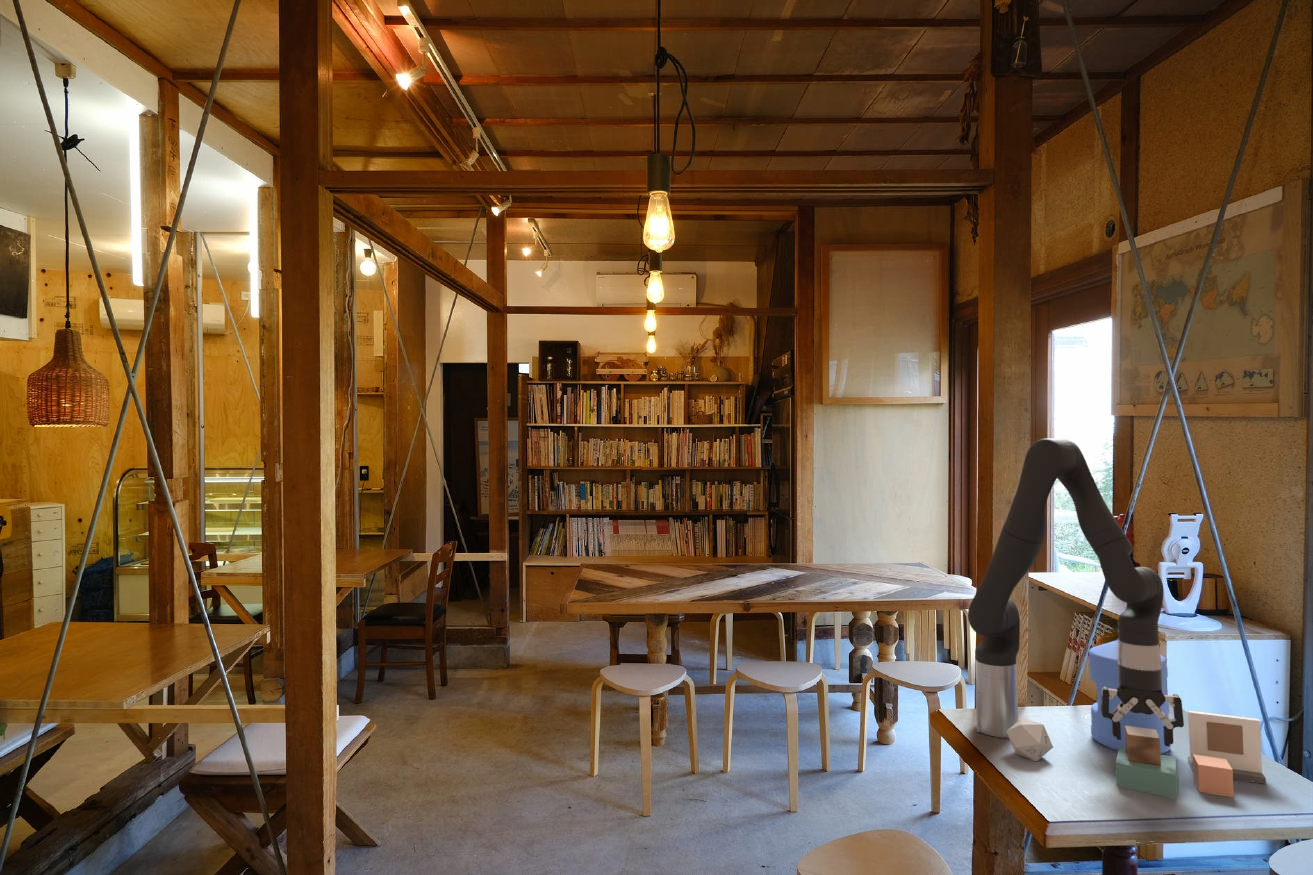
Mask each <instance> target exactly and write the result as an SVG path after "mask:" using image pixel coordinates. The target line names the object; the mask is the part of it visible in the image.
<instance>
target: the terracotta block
mask: <svg viewBox="0 0 1313 875" xmlns="http://www.w3.org/2000/svg"><path fill="white" fill-rule="evenodd" d="M1192 773H1193V782H1194V785H1195V786H1196V787H1197V790H1198V792H1200V793H1204V794H1211V795H1217V796H1224V797H1230V798H1234V796H1235V795H1234V794H1235V793H1234V779H1233V769H1232V768H1231V766H1230V765H1229V763H1228V762H1227V760H1226V759H1222V758H1215V757H1208V756H1201V755H1195V754H1193V770H1192Z"/></svg>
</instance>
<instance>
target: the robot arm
mask: <svg viewBox="0 0 1313 875" xmlns="http://www.w3.org/2000/svg"><path fill="white" fill-rule="evenodd" d="M1082 452H1083V451H1081V449H1080V447H1079V446H1078V445H1077V444H1076V443H1075V442H1073V441H1072V440H1068V439H1063V438H1049V437H1048V438H1041V439H1039V440H1036V441H1035V442H1033V443H1032V444H1031V445H1030V447H1029V448H1028V450H1027V452H1026V454H1025V458H1024V462H1023V465H1022V470H1021V472H1020V477H1019V482H1018V486H1017V488H1016V492H1015V494H1014V497H1013V500H1012V501H1011V502H1012V503H1011V504H1010V508H1009V510H1008V514H1007V516H1006V519H1005V521H1004V524H1003V526H1002V529H1001V531H1000V533H999V536H998V539H997V541H996V545H995V548H994V551H993V553H992V556H991V558H990V560H989V561H990V562H989V564H988V567H987V569H986V572H985V575H984V577H983V579H982V581H981V583H980V585H979V587H978V588H977V591H976V592H975V594H974V596H973V598H972V600H971V602H970V604H969V607H968V611H967V618H968V623H969V625H970V627H971V629H972V630H973V631H974V632H975V633H976V634H977V635H980V636H982V639H981V641H980V642H979V643H978V645H977V646H976V647H975V650H974V653H975V654H974V655H975V657H974V658H975V660H974V661H975V684H976V685H975V686H976V687H975V688H976V690H975V713H976V714H975V715H976V718H975V719H976V732H977V733H980V734H981V733H982V734H985V735H987V736H991V737H996V738H1003V739H1004V738H1007V739H1009V737H1008V734H1007V732H1006V731H1007V730H1008V729H1010V728H1011V727H1012V726H1013V725H1014V724H1016V723H1017V722H1018V721H1019V705H1018V704H1019V703H1018V675H1017V674H1018V672H1017V657H1018V656H1017V655H1018V654H1019V651H1020V643H1021V642H1020V640H1021V639H1020V637H1021V635H1020V632H1021V631H1020V630H1021V628H1020V626H1021V624H1020V623H1021V622H1020V614H1019V609H1018V607H1017V605H1016V603H1015V602H1014V601H1013V600H1012V599H1011V595H1012V593H1013V592H1014V589H1015V588H1016V587H1017V585H1018V584H1019V583H1020V582H1021V580H1022V579H1023V578H1024V577H1025V576H1026V575H1027V573H1028V572H1029V570H1030V569H1031V568H1032V567H1033V565H1034V564H1035V562H1036V560H1037V559H1038V557H1039V555H1040V553H1041V549H1042V547H1043V544H1044V542H1045V539H1046V536H1047V529H1048V525H1047V523H1048V522H1047V502H1048V499H1049V495H1050V493H1051V491H1052V490H1053V487H1054V485H1055V483H1056V480H1058V481H1059V482H1060V483H1061V484H1062V486H1063V487H1064V488H1065V490H1066V491H1067V492H1068V494H1069V495H1070V497H1071V500H1072V502H1073V504H1074V507H1075V512H1076V516H1077V520H1078V524H1079V527H1080V530H1081V531H1082V532H1081V533H1082V534H1083V536H1084V538H1085V539H1086V541H1087V542H1088V544H1089V546H1090V547H1091V549H1092V551H1093V552H1094V554H1095V555H1096V556H1097V558H1098V561H1099V565H1100V568H1101V571H1102V574H1103V577H1104V579H1105V583H1106V585H1107V587H1108V588H1109V590H1110V592H1111V593H1112V594H1113V595H1114V596H1115V597H1116V598H1117V599H1118V600H1119V601H1122V602H1123V603H1126V608H1125V610H1124V611H1123V612H1121V614H1119V616H1118V621H1117V634H1118V637H1119V643H1118V675H1119V686H1118V688H1117V690H1116V689H1109V688H1107V687H1106V686H1103V687H1102V692H1101V712H1102V716H1103V717H1105V718H1109V719H1110V720H1112V733H1113V735H1114V737H1116V738H1117V740H1121V727H1120V721H1119V720H1120V719H1121V718H1122V717H1123V716H1124V715H1126V714H1127V713H1128V712H1129V710H1130V711H1132V712H1133V713H1144V714H1147V715H1151V714H1153V713H1155V714H1156V715H1157V717H1158V718H1159V719H1160V720H1161V721H1162V722H1163V723H1164V725H1163V731H1164V744H1165V746H1167V747H1170V744H1171V745H1173V744H1174V730H1175V728H1183V727H1184V726H1185V722H1184V714H1183V702H1182V699H1181V697H1180V696H1179V695H1178V694H1177V693H1174V694H1172V695H1171V694H1170V695H1169V694H1168V695H1164V694H1163V692H1162V674H1161V666H1162V662H1161V655H1162V654H1161V649H1160V645H1159V643H1160V640H1159V638H1160V636H1159V624H1158V623H1159V620H1160V617H1161V616H1160V615H1161V612H1162V606H1163V601H1164V594H1165V592H1164V583H1163V581H1162V578H1161V576H1160V575H1159V574H1158V573H1157V572H1156V571H1155V570H1154V569H1152V568H1150V567H1147V566H1146V567H1145V566H1136V567H1135V565H1134V563H1133V561H1132V559H1131V557H1130V555H1131V554H1132V553H1133V551H1134V548H1133V545H1132V542H1131V541H1130V540H1129V538H1128V536H1127V535H1126V533H1125V532H1124V530H1123V529H1122V527H1121V526H1120V524H1119V523H1118V521H1117V519H1116V518H1115V517H1114V515H1113V514H1112V512H1111V510H1110V509H1109V506H1108V505H1107V503H1106V501H1105V500H1104V498H1103V496H1102V493H1101V492H1100V489H1099V488H1098V485H1097V483H1096V481H1095V479H1094V477H1093V474H1092V473H1091V471H1090V468H1089V466H1088V463H1087V461H1086V459H1085V456H1084V454H1083V453H1082ZM1118 637H1117V638H1118ZM1115 695H1117V696H1118V697H1119V699H1120V700H1121V701H1122V702H1121V703H1120V704H1119V705H1118V706H1117V708H1116V709H1115V710H1114V711H1113V712H1110V711H1109V699H1110V700H1111V699H1113V697H1114V696H1115ZM1165 701H1168V702H1169V707H1172V709H1173V717H1174V718H1171V719H1170V718H1169V719H1168V717H1167V716H1166V715H1165V714H1164V712H1163V711H1162V710H1161V709H1160V707H1161V705H1162V704H1163V703H1164V702H1165ZM1170 748H1171V747H1170Z"/></svg>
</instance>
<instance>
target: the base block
mask: <svg viewBox="0 0 1313 875" xmlns="http://www.w3.org/2000/svg"><path fill="white" fill-rule="evenodd" d="M1117 751H1118V750H1117ZM1116 755H1117V756H1116V760H1115V778H1116V779H1115V780H1116V781H1115V782H1116V786H1117V787H1121V788H1125V789H1130V790H1134V791H1139V792H1144V793H1148V794H1153V795H1157V796H1161V797H1166V798H1171V799H1176V800H1177V798H1178V796H1177V795H1178V768H1177V766H1178V764H1177V762H1178V761H1177V756H1172V755H1166V754H1160V755H1161V766H1157V765H1150V764H1144V763H1137V762H1131V761H1129V760H1128V757H1127V753H1126V748H1125V747H1120V746H1119V751H1118V752H1117V754H1116Z"/></svg>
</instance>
